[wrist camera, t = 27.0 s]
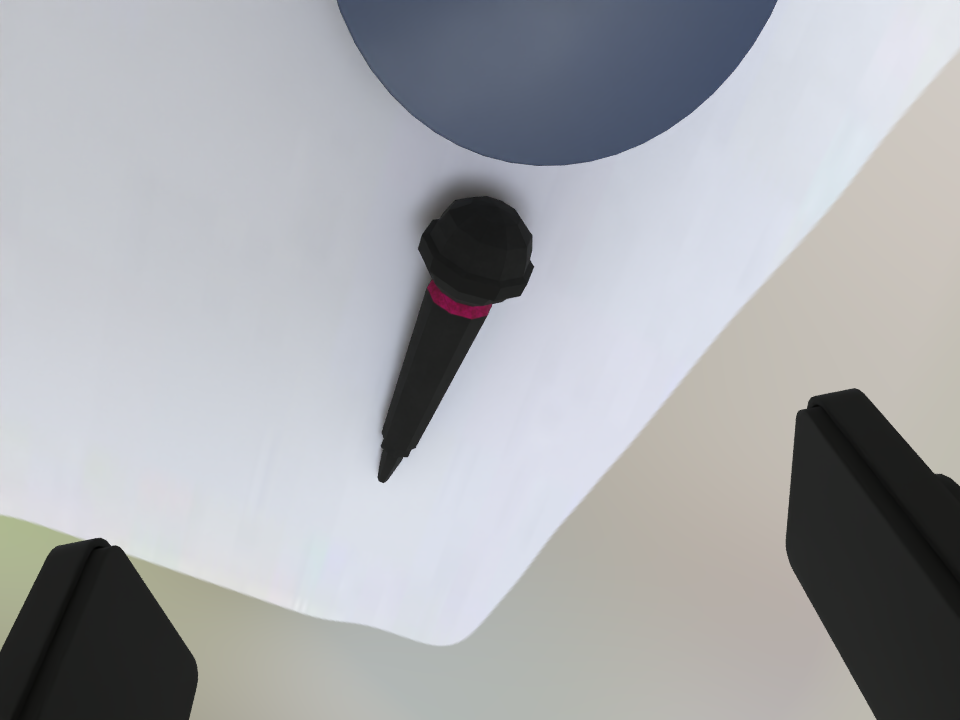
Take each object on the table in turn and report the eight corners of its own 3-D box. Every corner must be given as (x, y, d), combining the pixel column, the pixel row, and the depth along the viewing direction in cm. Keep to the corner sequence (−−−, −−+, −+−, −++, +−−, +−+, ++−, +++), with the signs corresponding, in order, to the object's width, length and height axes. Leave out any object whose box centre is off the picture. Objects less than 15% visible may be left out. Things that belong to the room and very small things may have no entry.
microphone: (409, 442, 50) (524, 181, 38) (436, 513, 46) (572, 249, 34) (329, 445, 47) (425, 165, 35) (350, 521, 43) (466, 237, 31)
